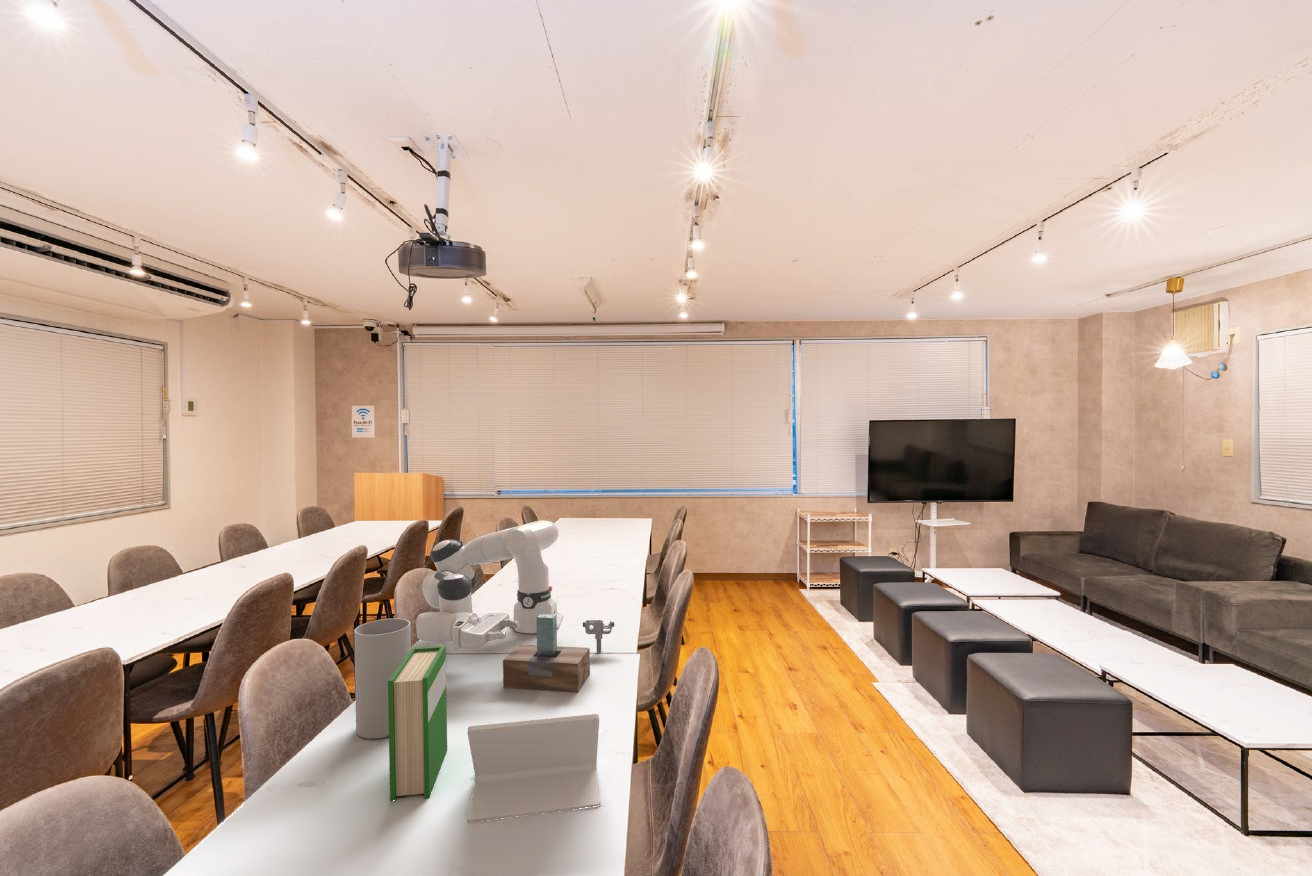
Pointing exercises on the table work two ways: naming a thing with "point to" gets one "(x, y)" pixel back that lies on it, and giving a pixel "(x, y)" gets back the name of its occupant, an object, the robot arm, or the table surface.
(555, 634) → the tall rectangular metal block
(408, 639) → the cylinder vase
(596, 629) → the mechanical component
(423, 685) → the hardback book
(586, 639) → the table surface
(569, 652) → the brown boxy piece
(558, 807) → the tablet stand
